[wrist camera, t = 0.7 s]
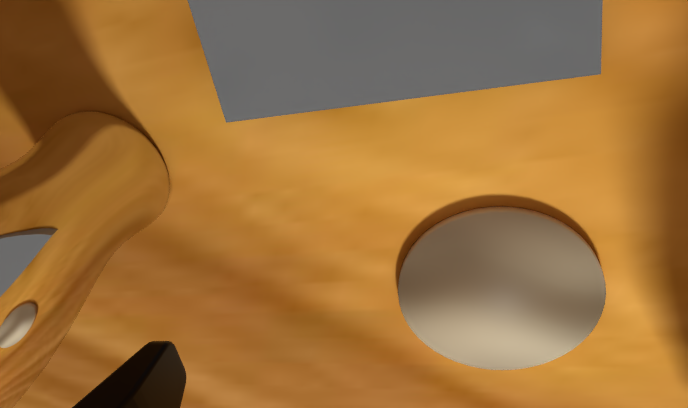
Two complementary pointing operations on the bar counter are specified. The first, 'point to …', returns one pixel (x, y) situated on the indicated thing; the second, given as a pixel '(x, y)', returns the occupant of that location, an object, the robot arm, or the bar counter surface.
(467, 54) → the slate board
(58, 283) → the beer glass
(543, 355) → the metal coaster
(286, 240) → the bar counter surface
